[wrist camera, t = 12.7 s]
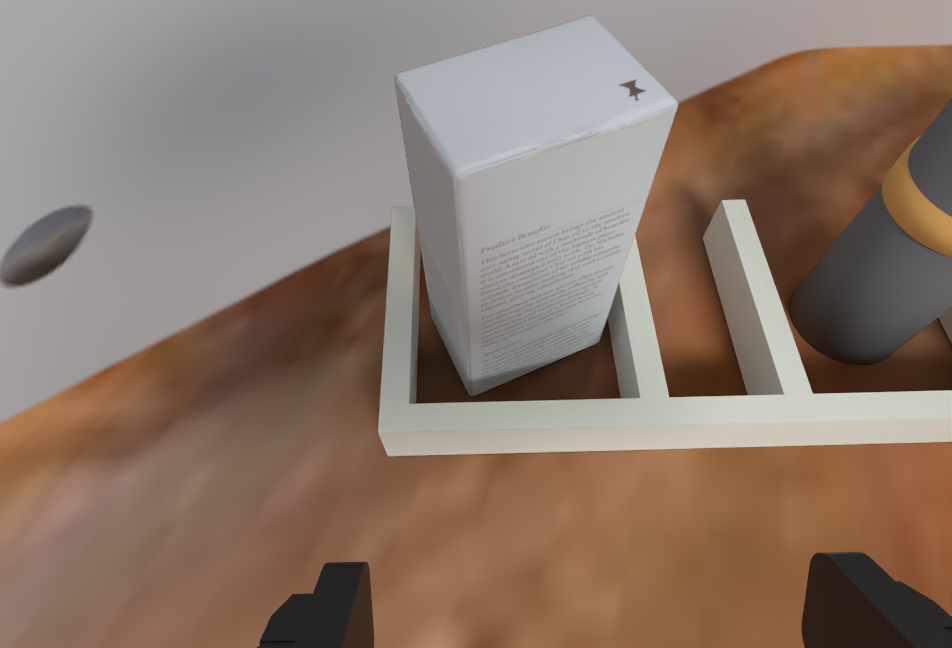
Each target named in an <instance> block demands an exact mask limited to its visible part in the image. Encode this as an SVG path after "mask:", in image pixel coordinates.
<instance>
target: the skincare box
mask: <svg viewBox="0 0 952 648" xmlns="http://www.w3.org/2000/svg"><path fill="white" fill-rule="evenodd" d="M395 88H396V94H397V101H398V107H399V114H400V120H401V126H402V132H403V138H404V144H405V151H406V158H407V165H408V170H409V177H410V183H411V189H412V195H413V201H414V208H415V214H416V220H417V227H418V234H419V240H420V247H421V253H422V259H423V266H424V272H425V278H426V285H427V291H428V298H429V304H430V310H431V317H432V320H433V322H434V324H435V326H436V328H437V330H438V332H439V334H440V336H441V338H442V340H443V342H444V344H445V347H446V349H447V351H448V353H449V355H450V357H451V359H452V361H453V363H454V365H455V367H456V370H457V372H458V374H459V376H460V378H461V380H462V382H463V384H464V386H465V388H466V390H467V392H468V394H469V395H470V396H476V395H478V394H480V393H482V392H485V391H487V390H489V389H492V388H494V387H496V386H499V385H501V384H503V383H506V382H508V381H510V380H513V379H515V378H517V377H519V376H522V375H524V374H526V373H529V372H531V371H534V370H536V369H538V368H540V367H543V366H545V365H547V364H550V363H552V362H554V361H557V360H559V359H561V358H564V357H566V356H568V355H571V354H573V353H575V352H577V351H580V350H582V349H585V348H587V347H589V346H592V345H594V344H596V343H598V342H599V341H600V338H601V335H602V332H603V329H604V326H605V324H606V320H607V317H608V314H609V311H610V308H611V306H612V302H613V299H614V296H615V293H616V290H617V287H618V284H619V281H620V278H621V275H622V272H623V269H624V266H625V263H626V260H627V257H628V255H629V251H630V248H631V246H632V242H633V239H634V236H635V233H636V230H637V227H638V224H639V221H640V218H641V215H642V212H643V209H644V206H645V203H646V200H647V197H648V195H649V192H650V188H651V185H652V182H653V179H654V176H655V173H656V171H657V168H658V165H659V162H660V159H661V156H662V153H663V150H664V147H665V143H666V141H667V138H668V135H669V132H670V129H671V126H672V123H673V120H674V117H675V114H676V111H677V108H678V101H677V100H676V99H675V98H674V97H673V96H672V95H671V94H670V93H669V92H668V91H667V90H666V89H665V88H664V87H663V86H662V85H661V84H660V83H659V82H658V81H657V80H656V79H655V78H654V77H653V76H652V75H651V74H650V73H649V72H648V71H647V70H646V69H645V68H644V67H643V66H642V65H641V64H640V63H639V62H638V61H637V60H636V59H635V58H634V57H633V55H632V54H631V53H630V52H629V51H628V50H627V49H626V48H625V47H624V46H623V45H622V44H621V43H620V42H619V41H618V40H617V39H616V38H615V37H614V36H613V35H612V34H611V33H610V32H609V31H608V30H607V29H606V28H605V27H604V26H603V25H602V24H601V23H600V22H599V21H597V20H596V19H595V18H594V17H592V16H585V17H582V18H579V19H576V20H573V21H569V22H566V23H563V24H560V25H558V26H554V27H551V28H548V29H545V30H542V31H539V32H535V33H532V34H529V35H525V36H522V37H519V38H515V39H512V40H509V41H505V42H502V43H498V44H494V45H491V46H488V47H484V48H481V49H477V50H474V51H471V52H468V53H465V54H461V55H458V56H454V57H451V58H448V59H445V60H441V61H438V62H435V63H431V64H428V65H424V66H421V67H418V68H415V69H412V70H407V71H403V72H400V73H397V74H396V76H395Z"/></svg>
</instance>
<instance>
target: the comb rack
mask: <svg viewBox="0 0 952 648" xmlns="http://www.w3.org/2000/svg"><path fill="white" fill-rule="evenodd" d="M703 241H704V245H705V248H706V252H707V255H708V259H709V262H710V266H711V269H712V273H713V276H714V279H715V283H716V286H717V290H718V293H719V297H720V300H721V304H722V307H723V311H724V314H725V318H726V321H727V325H728V328H729V332H730V335H731V339H732V342H733V346H734V349H735V353H736V356H737V360H738V363H739V367H740V370H741V374H742V377H743V381H744V384H745V388H746V391H747V395H745V396H705V397H669V393H668V389H667V384H666V379H665V374H664V370H663V365H662V360H661V356H660V351H659V346H658V341H657V337H656V332H655V327H654V322H653V318H652V313H651V308H650V304H649V299H648V294H647V289H646V285H645V280H644V275H643V270H642V266H641V261H640V256H639V251H638V247H637V242H636V237H635V236H634V239H633V242H632V246H631V248H630V251H629V255H628V257H627V260H626V263H625V266H624V269H623V272H622V275H621V278H620V281H619V284H618V287H617V290H616V293H615V296H614V299H613V302H612V306H611V308H610V311H609V314H608V317H607V319H608V325H609V331H610V337H611V343H612V349H613V355H614V361H615V367H616V373H617V379H618V385H619V391H620V397H621V399H583V400H543V401H503V402H462V403H422V404H416V395H417V361H418V326H419V291H420V257H421V247H420V240H419V234H418V227H417V220H416V214H415V208H414V207H393V208H392V220H391V235H390V251H389V267H388V283H387V299H386V314H385V330H384V346H383V362H382V378H381V394H380V409H379V425H378V433H379V436H380V438H381V441H382V443H383V446H384V448H385V450H386V453H387V455H388V456H416V455H454V454H493V453H532V452H571V451H610V450H649V449H688V448H727V447H766V446H805V445H843V444H882V443H921V442H952V390H947V391H907V392H866V393H826V394H813V392H812V390H811V387H810V384H809V381H808V378H807V375H806V372H805V370H804V367H803V364H802V361H801V358H800V355H799V352H798V350H797V347H796V344H795V341H794V338H793V335H792V332H791V329H790V327H789V324H788V321H787V318H786V315H785V312H784V309H783V307H782V304H781V301H780V298H779V295H778V292H777V289H776V286H775V284H774V281H773V278H772V275H771V272H770V269H769V266H768V264H767V261H766V258H765V255H764V252H763V249H762V246H761V244H760V241H759V238H758V235H757V232H756V229H755V226H754V223H753V221H752V218H751V215H750V212H749V209H748V206H747V203H746V201H745V200H722V201H721V203H720V205H719V207H718V209H717V211H716V212H715V214H714V216H713V218H712V220H711V222H710V224H709V226H708V228H707V230H706V232H705V234H704V236H703ZM938 318H939V320H940V322H941V324H942V326H943V328H944V330H945V332H946V334H947V336H948V338H949V340H950V342H951V344H952V307H951V308H950V309H949V310H947V311H946V312H945V313H943V314H942V315H941V316H940V317H938Z"/></svg>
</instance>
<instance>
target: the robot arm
mask: <svg viewBox="0 0 952 648" xmlns="http://www.w3.org/2000/svg"><path fill="white" fill-rule="evenodd" d="M802 637H803V642H804V646H805V648H952V617H951V616H950V615H949V614H948V613H947V612H945V611H944V610H943V609H942V608H941V607H940V606H939V605H938V604H937V603H936V602H934V601H932V600H931V599H929V598H927V597H926V596H924V595H922V594H921V593H919V592H917V591H916V590H914V589H912V588H911V587H909V586H907V585H905V584H904V583H902V582H900V581H899V582H895V581H894V580H893V579H892V578H891V577H890V576H889V575H888V574H887V573H886V572H885V571H884V570H883V569H882V568H881V567H880V566H879V565H878V564H876V563H875V562H874V561H873V560H872V559H871V558H870V557H869V556H868V555H866V554H864V553H862V552H832V553H816V554H815V555H814V556H813V557H812V559H811V562H810V567H809V575H808V582H807V589H806V596H805V604H804V611H803V618H802ZM257 648H374V628H373V614H372V600H371V586H370V572H369V566H368V563H367V562H336V563H325V565H324V566H323V568H322V571H321V574H320V576H319V579H318V582H317V584H316V587H315V590H314V592H313V594H293V595H292V596H291V597H290V598H289V599H288V600H287V601H286V602H285V603H284V604H283V605H282V606H281V607H280V608H279V609H278V610H277V611H276V612H275V613H274V614H273V615H272V616H271V618H270V620H269V622H268V624H267V627H266V629H265V631H264V633H263V635H262V638H261V640H260V645H259V647H257Z"/></svg>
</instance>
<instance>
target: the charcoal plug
mask: <svg viewBox="0 0 952 648" xmlns="http://www.w3.org/2000/svg"><path fill="white" fill-rule="evenodd" d="M951 307H952V99H951V100H950V102H949V103H948V104H947V105H946V106H945V108H944V109H943V110H942V111H941V113H940V114H939V115H938V116H937V117H936V119H935V120H934V121H933V122H932V124H931V125H930V126H929V127H928V128H927V130H926V131H925V132H924V133H923V134H922V135H921V136H919V137H918V138H916V139H915V140H914V141H913V142H912V143H911V144H910V145H909V146H908V148H907V149H906V150H905V151H904V152H903V154H902V155H901V156H900V157H899V159H898V160H897V161H896V162H895V164H894V165H893V166H892V167H891V169H890V170H889V171H888V172H887V174H886V175H885V177H884V180H883V183H882V185H881V186H880V187H879V188H878V189H877V191H876V192H875V193H874V194H873V196H872V197H871V198H870V199H869V200H868V202H867V203H866V204H865V205H864V207H863V208H862V209H861V210H860V211H859V213H858V214H857V215H856V216H855V218H854V219H853V220H852V221H851V222H850V224H849V225H848V226H847V227H846V229H845V230H844V231H843V232H842V233H841V235H840V236H839V237H838V238H837V240H836V241H835V242H834V243H833V244H832V246H831V247H830V248H829V249H828V251H827V252H826V253H825V254H824V255H823V257H822V258H821V259H820V260H819V261H818V263H817V264H816V265H815V266H814V268H813V269H812V270H811V271H810V272H809V274H808V275H807V276H806V277H805V279H804V280H803V281H802V282H801V283H800V285H799V286H798V287H797V288H796V290H795V291H794V293H793V295H792V297H791V301H790V314H791V318H792V321H793V323H794V326H795V327H796V329H797V331H798V332H799V333H800V335H801V336H802V337H803V338H804V339H805V341H806V342H807V343H808V344H810V345H811V346H812V347H813V348H815V349H816V350H817V351H819V352H820V353H822V354H824V355H825V356H827V357H830V358H832V359H834V360H837V361H840V362H843V363H847V364H854V365H868V364H873V363H877V362H880V361H882V360H884V359H886V358H887V357H888V356H890V355H891V354H892V353H894V352H895V351H896V350H897V349H899V348H900V347H901V346H902V345H904V344H905V343H906V342H908V341H909V340H910V339H911V338H913V337H914V336H915V335H917V334H918V333H919V332H920V331H922V330H923V329H924V328H925V327H927V326H928V325H929V324H931V323H932V322H933V321H934V320H936V319H937V318H938V317H940V316H941V315H942V314H943V313H945V312H946V311H947V310H949V309H950V308H951Z"/></svg>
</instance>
